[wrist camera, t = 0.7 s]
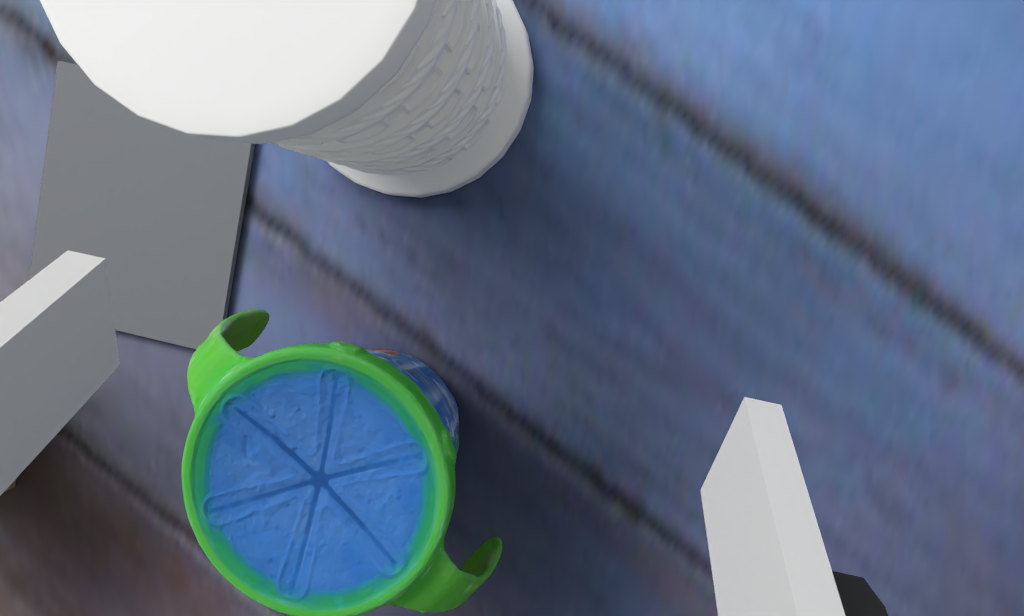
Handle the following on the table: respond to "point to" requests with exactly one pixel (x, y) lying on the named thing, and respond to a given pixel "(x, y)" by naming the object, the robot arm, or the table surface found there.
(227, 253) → the mat
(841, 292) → the table surface
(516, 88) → the decorative container
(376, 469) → the snack cup
